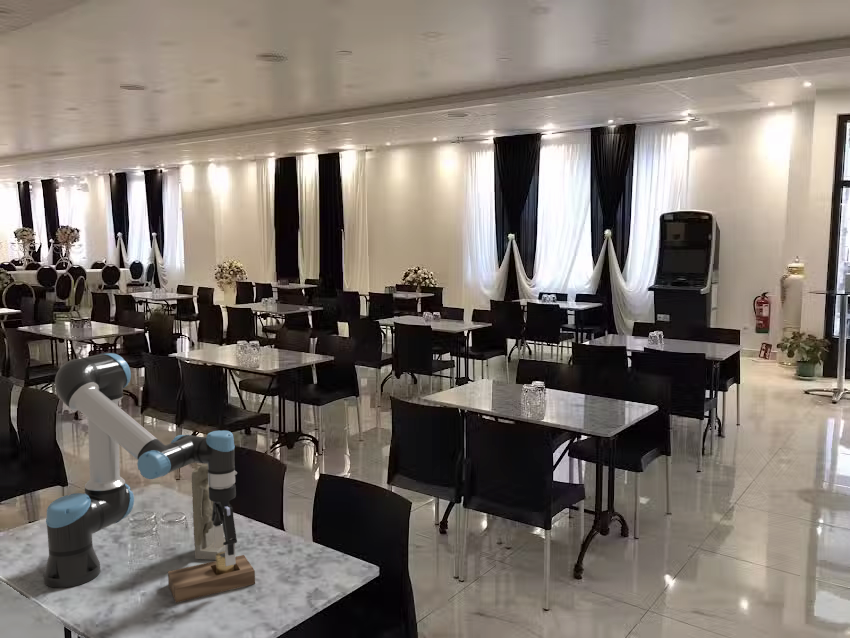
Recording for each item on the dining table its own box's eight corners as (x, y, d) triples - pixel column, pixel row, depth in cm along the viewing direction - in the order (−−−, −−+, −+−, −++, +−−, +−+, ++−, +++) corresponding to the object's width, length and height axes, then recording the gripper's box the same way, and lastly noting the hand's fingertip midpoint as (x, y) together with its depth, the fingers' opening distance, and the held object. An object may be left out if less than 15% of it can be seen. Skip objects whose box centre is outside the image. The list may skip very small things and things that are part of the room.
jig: (168, 584, 203) (167, 571, 203) (244, 567, 214) (243, 554, 213) (175, 602, 193) (175, 589, 192) (255, 583, 203) (254, 570, 203)
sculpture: (213, 564, 216) (209, 469, 213) (189, 562, 217) (185, 468, 214) (235, 544, 230) (232, 455, 227) (213, 542, 232) (209, 454, 229)
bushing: (214, 579, 206) (213, 553, 205) (232, 575, 208) (231, 549, 207) (218, 586, 202) (217, 559, 201) (236, 582, 204) (235, 556, 203)
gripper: (246, 495, 193) (249, 569, 195) (225, 470, 215) (227, 537, 217) (218, 500, 189) (221, 575, 192) (199, 474, 211) (202, 542, 213)
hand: (224, 555), depth 204 cm, fingers open, 13 cm apart
